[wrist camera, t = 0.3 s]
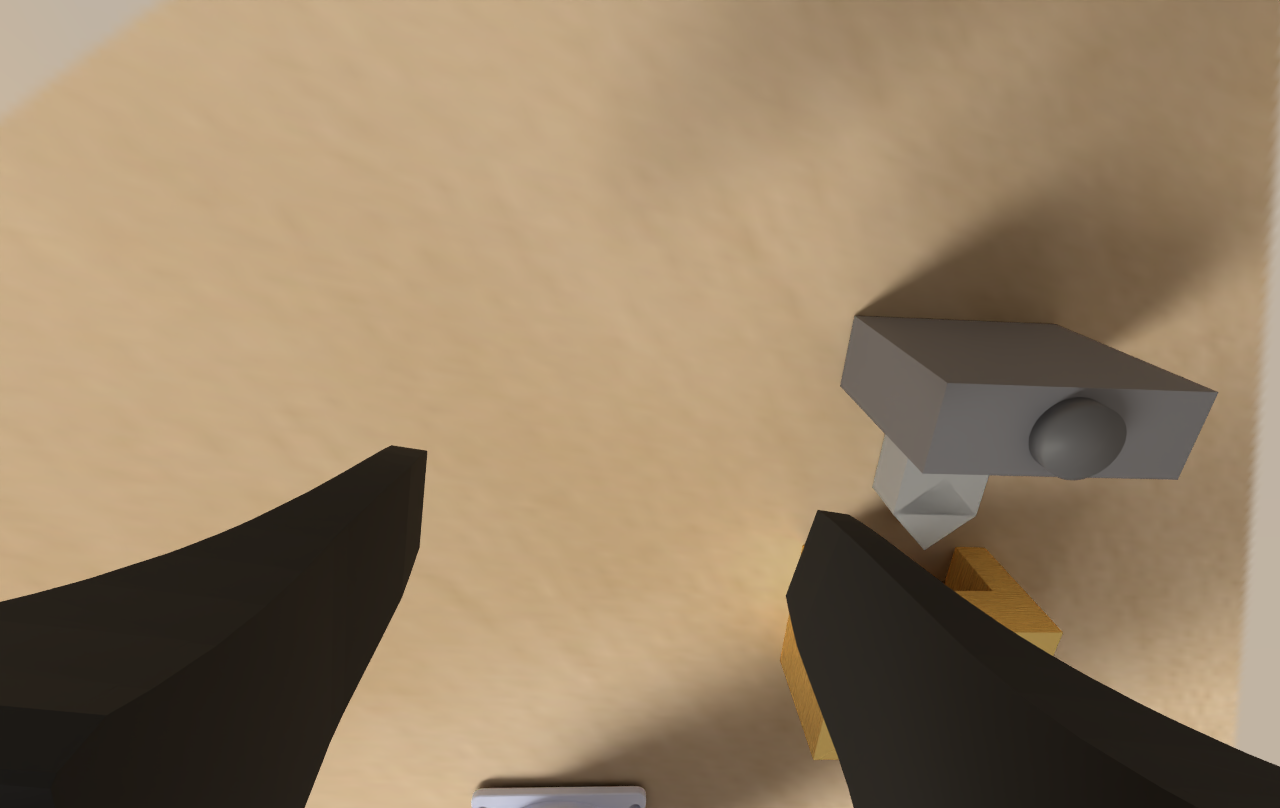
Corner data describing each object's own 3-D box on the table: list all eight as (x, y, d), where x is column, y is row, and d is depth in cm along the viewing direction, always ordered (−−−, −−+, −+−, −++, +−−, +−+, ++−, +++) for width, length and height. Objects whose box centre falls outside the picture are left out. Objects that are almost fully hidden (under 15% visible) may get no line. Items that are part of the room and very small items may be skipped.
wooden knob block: (945, 660, 27) (1014, 765, 22) (780, 660, 26) (815, 767, 22) (984, 547, 25) (1069, 639, 20) (802, 544, 24) (848, 638, 19)
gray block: (988, 522, 24) (1119, 653, 18) (813, 519, 23) (886, 653, 17) (1055, 324, 21) (1241, 401, 15) (854, 315, 20) (960, 392, 14)
